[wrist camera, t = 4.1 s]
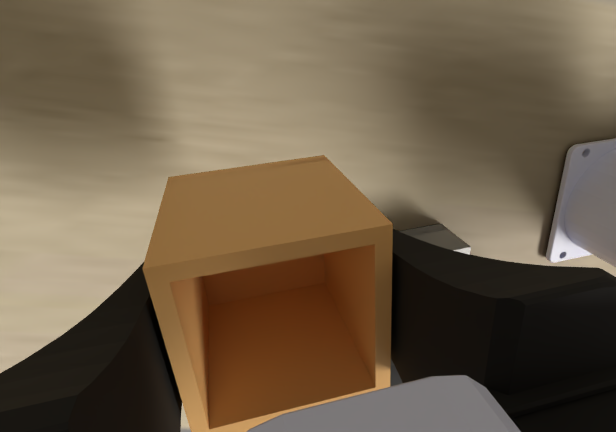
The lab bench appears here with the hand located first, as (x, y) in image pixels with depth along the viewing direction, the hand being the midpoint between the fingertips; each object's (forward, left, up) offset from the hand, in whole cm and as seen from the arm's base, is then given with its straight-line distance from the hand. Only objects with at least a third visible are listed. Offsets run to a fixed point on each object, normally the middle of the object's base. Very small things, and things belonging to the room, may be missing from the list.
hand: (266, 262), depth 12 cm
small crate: (0, 0, -2) cm, 2 cm away
